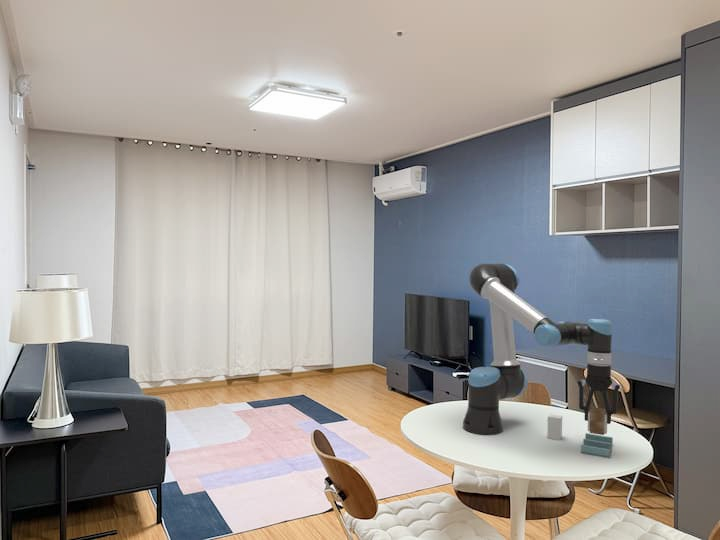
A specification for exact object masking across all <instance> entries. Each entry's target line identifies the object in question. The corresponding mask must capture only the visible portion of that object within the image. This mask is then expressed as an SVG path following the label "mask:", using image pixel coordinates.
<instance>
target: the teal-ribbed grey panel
mask: <svg viewBox="0 0 720 540" xmlns="http://www.w3.org/2000/svg"><path fill="white" fill-rule="evenodd" d="M584 436H585V437H584V438H583V442H582V443H583V444H581V445H580V454H585V455H590V456H595V457H602V458H608V459H610V457H611V452H612V448H613V441H614V440H613V438H614V437H612V436H608V435H600V434H593V433H589V432H587V433H586V432H585V435H584Z"/></svg>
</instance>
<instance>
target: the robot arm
mask: <svg viewBox="0 0 720 540" xmlns="http://www.w3.org/2000/svg"><path fill="white" fill-rule="evenodd" d="M468 279H469V284H470V287H471V288H472V290H473V291H474V292H475V293H476V294H478V295H479V296H480V297H481V298H482V299H484V300H485V299H486V300H487V301H488V302H489V308H490V309H489V311H490V321H491V322H490V323H491V335H492V349H493V361H492V362H491V363H490V366H479V367H475V368H472V369H471V370H470V372H469V375H468V382H467V383H468V391H467V392H468V393H467V394H468V398H467V399H468V401H467V402H468V403H467V404H468V405H467V409H466V412H465V415H464V418H463V421H462V428H463V430H465V431H467V432H470V433H472V434H476V435H488V436H491V435H499V434H501V433H502V432H503V431H504V424H503V421H502V417H501V414H500V409H499V408H500V400H505V399H510V398H511V399H513V398H515V397H518V396H521V395H522V394H523V393H524V392H525V390H526V389H527V387H528V377H527V374H526V372H524V370H523V369H522V368H521V363H520V362H519V361H518V360H517V356H516V355H517V354H516V345H515V343H516V342H515V331H514V330H515V329H514V320H515V321H516V322H518V323H519V324H521V326H523V327H524V328H526V329H527V330H528V331H530V332H531V333H532V334H533V335H534V339H535V341H536V343H537V344H539V345H540V346H542V347H547V348H548V347H549V348H551V347H555V346H562V345H563V346H564V345H571V344H572V345H573V344H575V345H583V346H587V365H586V367H587V368H586V377H585V378H584V379H578V381H577V384H578V389H579V390H578V393H579V395H578V396H579V397H578V400H579V401H578V408H579V409H580V410H582V411H583V412H584V421H585V422H587V432H590V407H591V403H592V400H593V395H594V393H595V392H599V393H600V392H601V393H602V397H603V400H604V401H603V402H604V405H605V420H604V435H606V434H607V433H608V425H611V422H612V415H613V414H614V415H615V414H617V413H618V399H619V398H618V397H619V396H618V395H619V394H618V393H619V390H620V388H621V385H620V383H616V382H613V379H612V377H611V376H612V366H611V364H612V341H613V339H612V337H613V336H612V335H613V330H612V329H613V327H612V325H613V324H612V322H611V320H609V319H605V318H603V319H601V318H591V319H590V318H589V320H588V321H587V322H588V323H581V322H573V321H569V320H568V321H559V322H558V323H555V322H554V321H553V320H551V319H550V318H549V317H548V316H546V315H544V313H542V312H540V311H539V310H537V308H535V307H533V306H532V305H531V304H530V303H528V302H527V301H526V300H524V299H523V298H522V297H520V296H519V295H517V294H516V293H515V291H516V290H517V289H518V287H519V285H520V275H519V274H518V271H517V269H515V268H514V267H513V266H512V265H510V264H507V263H505V264H504V263H479V264H477V265H475V266H474V268H473V269H471V271H470V274H469V277H468ZM513 319H514V320H513ZM586 384H587V386H588V387H589V388H590V389H589V393H588V395H587V396H588V397H587V401H586V405H584V404H585V403H584V402H585V401H584V399H585V396H584V395H585V394H584V393H585V391H584V390H585V385H586ZM611 386H612V387H611ZM610 387H611V389H612V390H613V393H612V394H613V395H612V396H613V397H612V398H613V399H612V402H613V403H612V407H611V405H610V401H609V399H610V398H609V395H608V389H609V388H610ZM611 408H612V409H611Z"/></svg>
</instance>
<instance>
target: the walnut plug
mask: <svg viewBox="0 0 720 540" xmlns="http://www.w3.org/2000/svg"><path fill="white" fill-rule="evenodd" d="M590 407H591V408H589V411H590V431H589V434H595V435H601V436H605V434H604V420H605V413H606V408H603V407H595V406H590Z"/></svg>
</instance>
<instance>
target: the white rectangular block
mask: <svg viewBox="0 0 720 540" xmlns="http://www.w3.org/2000/svg"><path fill="white" fill-rule="evenodd" d="M546 435H547V436H546V438H547V439H551V440H556V441H561V440H562V437H563V415H560V414H554V413H549V414H548V416H547V434H546Z"/></svg>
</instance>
